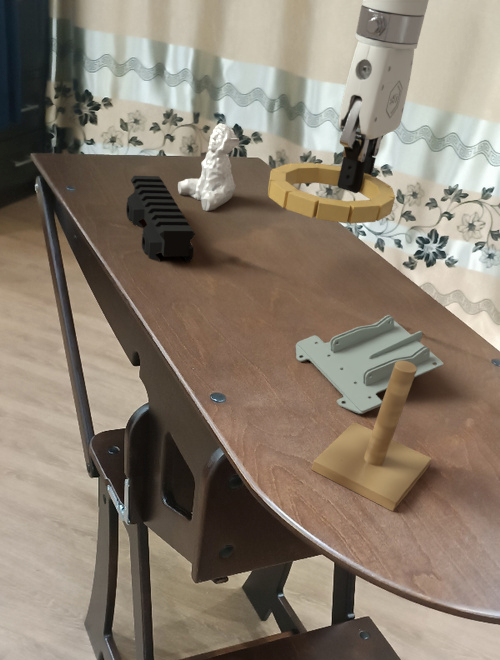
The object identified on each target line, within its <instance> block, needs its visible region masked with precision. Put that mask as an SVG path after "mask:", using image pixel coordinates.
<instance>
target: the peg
mask: <svg viewBox="0 0 500 660" xmlns="http://www.w3.org/2000/svg"><path fill="white" fill-rule="evenodd" d="M416 371H417V367H416V366H415V365H414V364H412V363H410V362H407V361H397V362H396V363H395V365H394V368H393V371H392V374H391V377H390V380H389V383H388V386H387V389H386V390H385V393H384V396H383V399H382V400H381V401H382V404H381V406H379V407H380V408H379V411H378V413H377V417H376V420H375V423H374V426H373V429H371V428H369V427H367V426H364V425H362V424H360V423H358V422H356V421H353V422H352V423H351V424H350V425H349V426H348V427H346V429H344V431H343V432H341V434H340V435H338V437H336V439H334V440H333V441H332V442H331V443H330V444H329V445H328V446H327V447H326V448H325V449H324V450H323V451H322V452H321V453H320V454H319V455H318V456H317V457H315V459H314V460H313V462H312V467H311V470H312V471H313V472H315V473H317V474H318V475H321V476H322V477H324V478H327V479H328V480H330V481H333V482H335V483H337V484H339V485H340V486H342V487H344V488H346V489H347V490H350V491H352V492H354V493H355V494H358V495H360V496H362V497H364V498H366V499H368V500H370V501H372V502H374V503H375V504H377V505H379V506H381V507H382V508H385V509H387V510H389V511H391V512H394V511H395V510H396V508H398V506H399V505H400V503H401V502H402V501H403V500H404V498H405V497H406V496H407V495H408V493H409V492H410V491H411V490H412V488H414V486H415V484H416V483H417V482H418V481H419V479H420V478H421V477H422V476H423V474H425V472H426V471H427V469H429V466H430V464H431V461H432V457H430V456H428V455H426V454H424V453H421V452H419V451H418V450H415V449H413V448H411V447H410V446H409V447H408V446H407V445H404V444H403V443H400V442H399V441H396V440H394V439H393V438H394V435H395V433H396V429H397V427H398V423H399V421H400V418H401V415H402V413H403V410H404V407H405V404H406V402H407V398H408V396H409V393H410V390H411V388H412V386H413V381H414V379H415V377H414V376H415V374H416Z"/></svg>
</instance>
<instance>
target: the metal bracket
mask: <svg viewBox="0 0 500 660" xmlns="http://www.w3.org/2000/svg"><path fill="white" fill-rule="evenodd" d="M422 337H423V331H422V330H418V331H417V332H414V333H412V334H411V333H409V332H408V331H407V330H406V329H405V328H404V327H402V325H400V324H399V323H398V322H397V321H395V318H394V317H393V316H391V315H390V314H387V315H385V316H384V317H382V318H381V319H380V320H378V321H377V322H375V323H371V324H367V325H361V326H357V327H354V328H352V329H350V330H347V331H345V332H342V333H340V334H337V335H334V336H332V337H331V339H330V341H328V342H324V341H323V340H322V338H321V337H319V336H317V335H315V334H314V335H311V336H309V337H307V338H304V339H301V340H299V341H297V343H295V356H296V357H295V359H296V360H297V361H298V362H300V363H302V362H305V361H310V362H311V363H312V364H313V366H315V367H316V369H317V370H318V371H319V372H320V373H321V374H322V375H323V376H324V377H325V378H326V379H327V381H328V382H329V383H331V385H332V386H333V387H334V388H335V389H336V390H337V391H338V392H339V393H340V394H341V395H342V396H343V397H342V396H341V397H340V398H338V399H337V400H336V404H337V405H338V406H339V407H341V408H343V409H346V410H348V411H351V412H353V413H356V414H358V415H363V414H365V413H367V412H370V411H372V410H374V409H376V408H379V407H381V404H382V401H383V400H382V399H381V398H380V397H379V396H378V395H377V394H378V393H382V392H384V391H386V389H387V386H388V383H389V380H390V377H391V374H392V371H393V368H394V365H395V363H396V362H397V361H407V362H410V363H412V364H414V365H415V366H416V367H417V371H416V374H415V376H414V378H417V377H419V376H421V375H423V374H427V373H428V372H431V371H433V370H436V369H438V368H440V367H442V366H443V365H444V362H443V361H442V360H441V359H440V358H439V357H438V356H436V355H435V354H434V353H433V352H432V351H431V349H430V348H429V347H428V346H426V345H423V344H422V343H421V341H422Z"/></svg>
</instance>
